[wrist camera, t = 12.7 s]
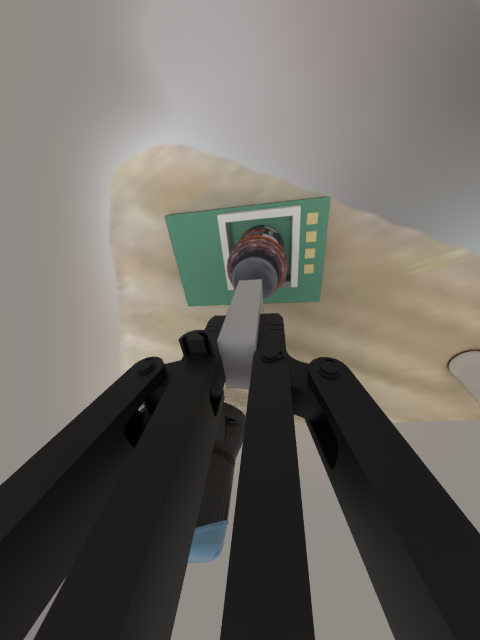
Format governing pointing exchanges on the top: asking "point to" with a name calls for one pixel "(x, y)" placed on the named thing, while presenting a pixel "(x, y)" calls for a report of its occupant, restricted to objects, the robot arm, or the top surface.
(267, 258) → the supplement bottle
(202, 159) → the top surface
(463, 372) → the drinking glass
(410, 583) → the robot arm
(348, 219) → the top surface
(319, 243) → the board
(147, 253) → the top surface
